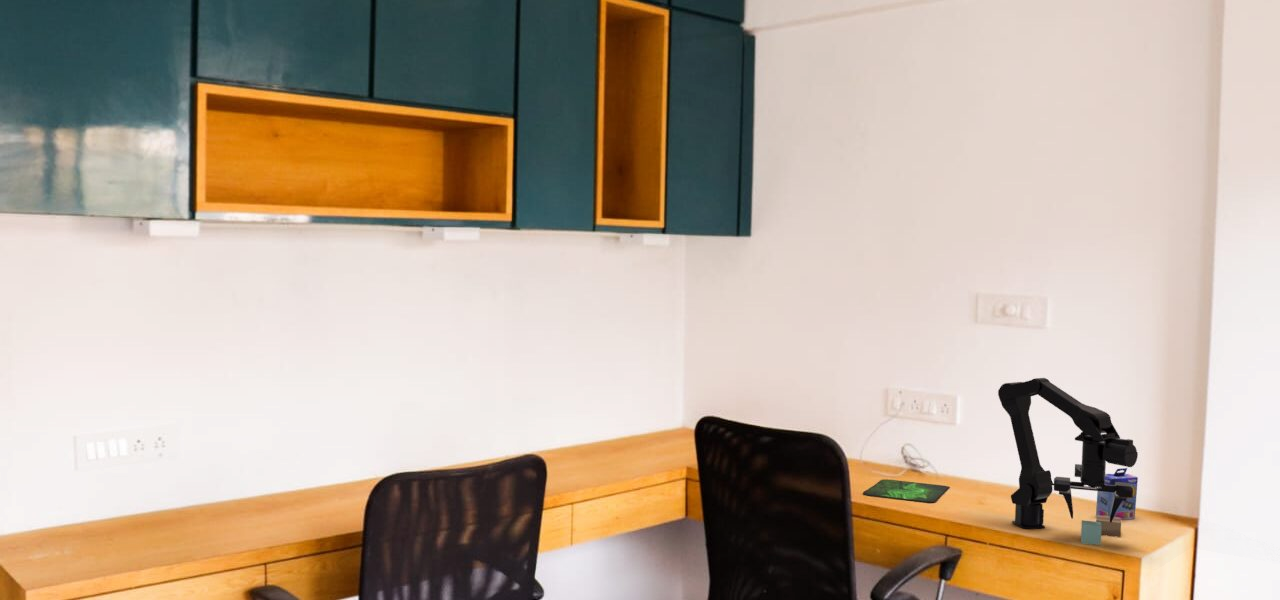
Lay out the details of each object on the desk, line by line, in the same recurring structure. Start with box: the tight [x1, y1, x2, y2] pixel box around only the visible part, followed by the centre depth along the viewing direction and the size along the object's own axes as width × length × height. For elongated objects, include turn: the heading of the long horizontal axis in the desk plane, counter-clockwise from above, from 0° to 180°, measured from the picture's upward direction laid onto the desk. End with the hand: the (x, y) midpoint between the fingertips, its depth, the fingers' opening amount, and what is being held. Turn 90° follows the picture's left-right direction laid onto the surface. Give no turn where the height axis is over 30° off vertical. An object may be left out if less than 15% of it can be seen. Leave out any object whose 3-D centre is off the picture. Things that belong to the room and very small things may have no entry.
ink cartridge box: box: [1095, 467, 1139, 521], centre depth 309 cm, size 10×6×14 cm, turn 111°
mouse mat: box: [862, 478, 951, 504], centre depth 339 cm, size 27×22×1 cm
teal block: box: [1080, 519, 1102, 546], centre depth 283 cm, size 5×5×5 cm
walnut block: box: [1095, 514, 1122, 538], centre depth 293 cm, size 6×6×4 cm
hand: (1091, 520), depth 283 cm, fingers open, 9 cm apart
